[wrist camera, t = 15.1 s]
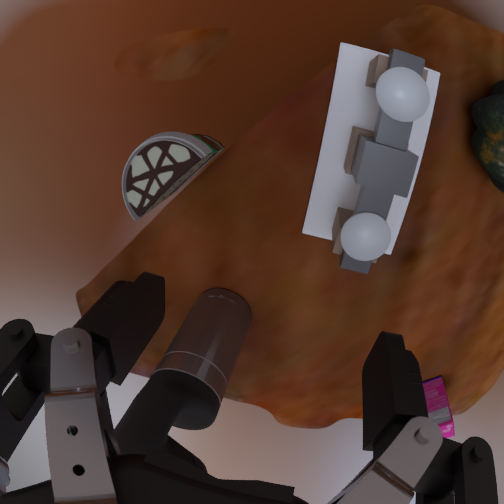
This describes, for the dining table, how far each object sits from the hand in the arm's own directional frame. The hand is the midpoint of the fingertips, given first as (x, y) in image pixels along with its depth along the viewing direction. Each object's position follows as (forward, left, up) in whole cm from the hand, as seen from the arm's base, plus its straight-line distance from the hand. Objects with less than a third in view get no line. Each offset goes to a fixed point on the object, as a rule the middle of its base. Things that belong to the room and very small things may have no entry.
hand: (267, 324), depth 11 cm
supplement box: (-34, -33, -30) cm, 56 cm away
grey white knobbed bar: (+3, -7, -25) cm, 26 cm away
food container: (-2, +16, -30) cm, 34 cm away
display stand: (+3, -7, -30) cm, 31 cm away
